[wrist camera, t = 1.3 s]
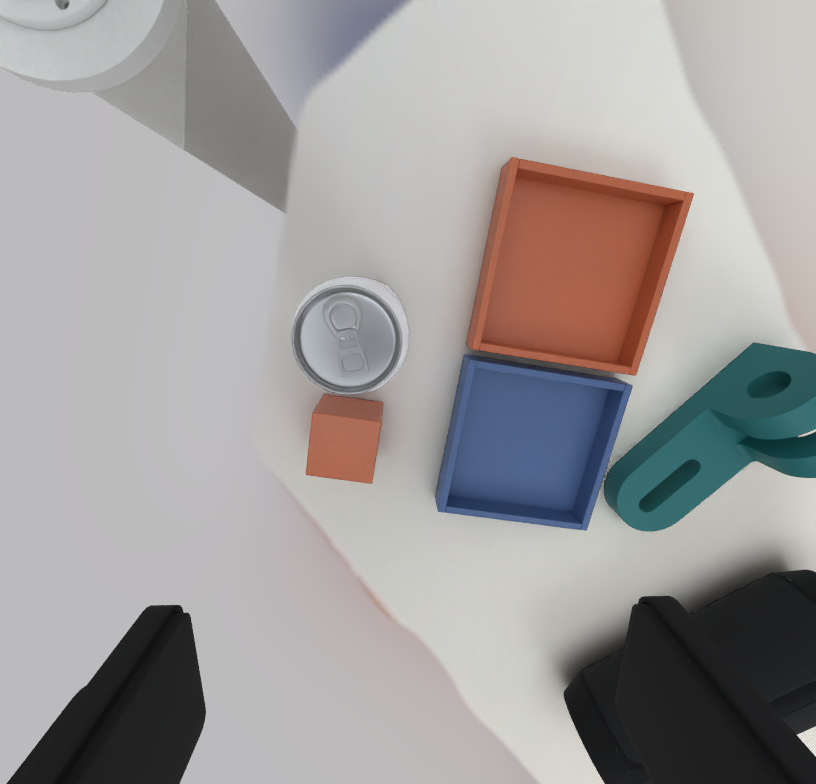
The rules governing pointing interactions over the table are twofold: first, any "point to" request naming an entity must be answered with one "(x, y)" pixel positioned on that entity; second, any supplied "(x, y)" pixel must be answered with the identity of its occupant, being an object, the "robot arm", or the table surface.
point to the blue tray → (529, 442)
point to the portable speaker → (743, 645)
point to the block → (344, 438)
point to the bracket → (721, 437)
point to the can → (350, 335)
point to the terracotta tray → (574, 266)
